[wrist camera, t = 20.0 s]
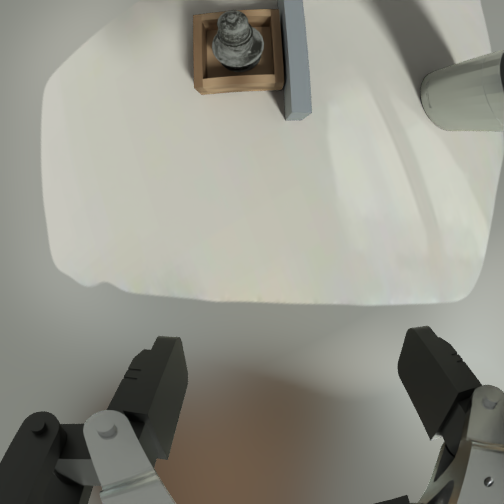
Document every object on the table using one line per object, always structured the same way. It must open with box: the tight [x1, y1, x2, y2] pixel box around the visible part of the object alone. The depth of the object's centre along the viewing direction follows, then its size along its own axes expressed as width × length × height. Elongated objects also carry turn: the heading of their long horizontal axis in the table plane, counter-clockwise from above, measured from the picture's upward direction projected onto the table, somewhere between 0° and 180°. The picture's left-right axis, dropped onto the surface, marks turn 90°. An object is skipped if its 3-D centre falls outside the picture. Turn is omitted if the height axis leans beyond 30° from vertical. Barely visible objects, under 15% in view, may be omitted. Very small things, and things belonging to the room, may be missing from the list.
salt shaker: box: [212, 10, 264, 72], centre depth 25 cm, size 6×6×12 cm
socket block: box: [193, 9, 284, 95], centre depth 30 cm, size 10×10×4 cm
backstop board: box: [278, 0, 312, 120], centre depth 28 cm, size 2×18×8 cm, turn 2°
